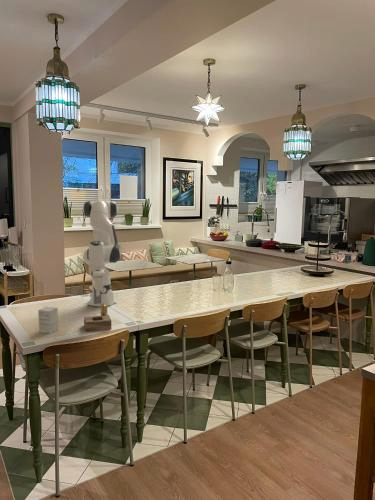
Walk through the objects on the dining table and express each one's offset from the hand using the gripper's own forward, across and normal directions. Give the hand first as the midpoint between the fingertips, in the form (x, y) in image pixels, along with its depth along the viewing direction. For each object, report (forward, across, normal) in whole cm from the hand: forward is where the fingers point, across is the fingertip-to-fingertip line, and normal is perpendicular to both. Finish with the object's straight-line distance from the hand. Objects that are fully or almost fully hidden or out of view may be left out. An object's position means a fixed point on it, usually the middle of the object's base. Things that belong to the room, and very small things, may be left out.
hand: (97, 294), depth 212 cm
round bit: (+19, -10, +5) cm, 22 cm away
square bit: (+5, 0, 0) cm, 5 cm away
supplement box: (+19, -2, -26) cm, 32 cm away
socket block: (+19, 0, 0) cm, 19 cm away
